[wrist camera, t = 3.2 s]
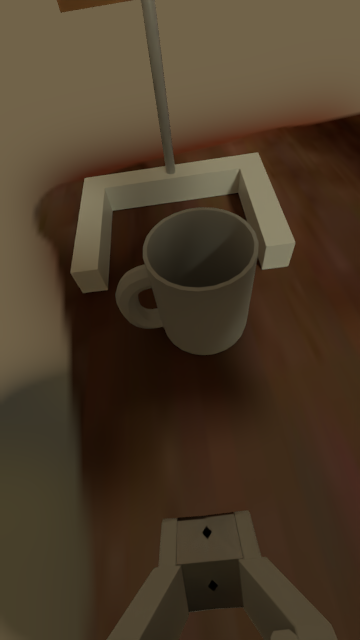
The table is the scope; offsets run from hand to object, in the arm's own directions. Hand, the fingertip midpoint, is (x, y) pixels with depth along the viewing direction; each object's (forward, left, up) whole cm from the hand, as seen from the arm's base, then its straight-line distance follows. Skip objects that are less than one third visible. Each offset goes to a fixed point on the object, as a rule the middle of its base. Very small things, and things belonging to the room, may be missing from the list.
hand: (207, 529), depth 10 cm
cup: (-5, -13, -10) cm, 17 cm away
